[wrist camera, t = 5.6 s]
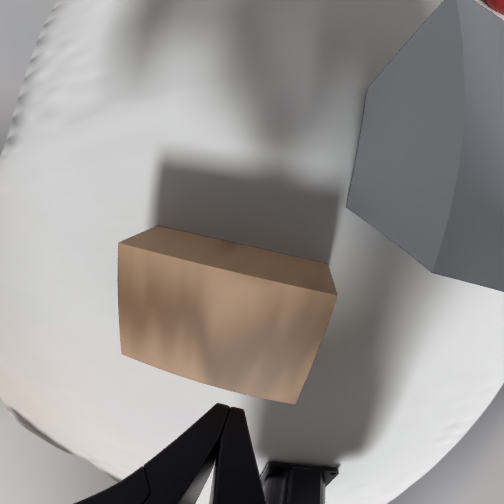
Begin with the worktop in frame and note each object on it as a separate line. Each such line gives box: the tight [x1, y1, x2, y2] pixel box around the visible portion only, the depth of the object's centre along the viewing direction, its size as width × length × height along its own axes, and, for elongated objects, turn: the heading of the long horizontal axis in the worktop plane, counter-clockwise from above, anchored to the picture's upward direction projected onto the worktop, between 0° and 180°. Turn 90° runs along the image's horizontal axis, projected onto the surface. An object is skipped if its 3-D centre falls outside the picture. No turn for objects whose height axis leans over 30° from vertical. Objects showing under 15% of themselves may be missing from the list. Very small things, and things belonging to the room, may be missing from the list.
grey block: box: [346, 0, 504, 292], centre depth 7 cm, size 6×4×9 cm, turn 170°
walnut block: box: [118, 226, 337, 405], centre depth 13 cm, size 6×4×9 cm
